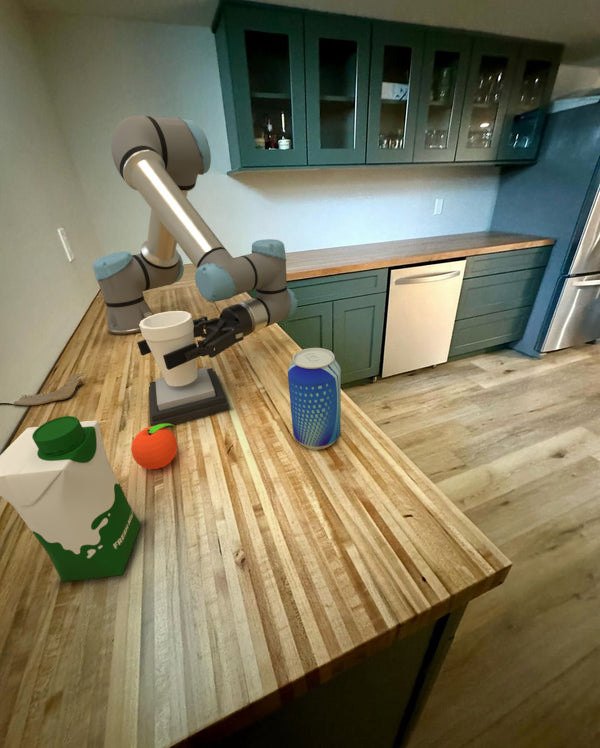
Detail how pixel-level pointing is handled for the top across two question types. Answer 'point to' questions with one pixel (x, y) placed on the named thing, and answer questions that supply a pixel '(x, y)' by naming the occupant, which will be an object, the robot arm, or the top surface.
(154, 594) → the top surface
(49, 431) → the milk carton
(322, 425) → the beer can
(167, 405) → the scale platform
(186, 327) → the foam cup
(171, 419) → the scale
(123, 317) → the robot arm
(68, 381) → the jawbone
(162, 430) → the clementine
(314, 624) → the top surface
